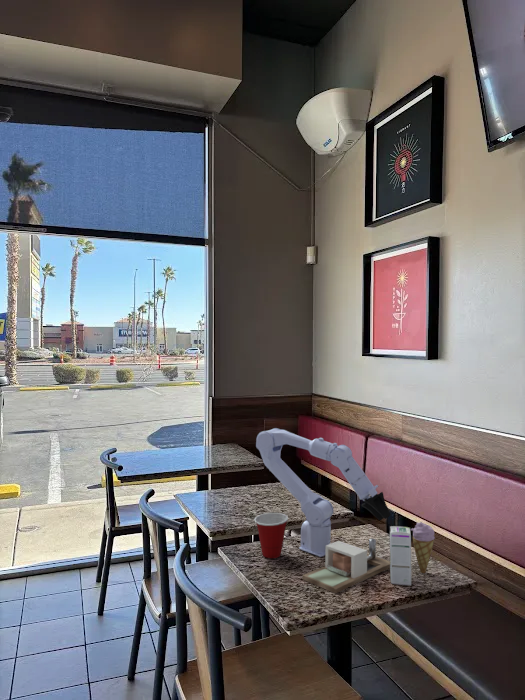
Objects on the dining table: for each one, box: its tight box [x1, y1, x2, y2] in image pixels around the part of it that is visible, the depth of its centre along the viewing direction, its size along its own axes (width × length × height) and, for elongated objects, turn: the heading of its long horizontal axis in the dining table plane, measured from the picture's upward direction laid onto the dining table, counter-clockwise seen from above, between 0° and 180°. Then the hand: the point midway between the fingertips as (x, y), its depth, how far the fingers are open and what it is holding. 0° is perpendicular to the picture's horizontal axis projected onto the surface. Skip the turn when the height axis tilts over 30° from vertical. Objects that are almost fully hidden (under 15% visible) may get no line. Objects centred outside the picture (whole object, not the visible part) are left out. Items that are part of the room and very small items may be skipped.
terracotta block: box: [333, 552, 351, 571], centre depth 154 cm, size 4×4×4 cm
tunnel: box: [324, 540, 368, 578], centre depth 155 cm, size 10×6×6 cm, turn 43°
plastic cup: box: [253, 512, 289, 559], centre depth 169 cm, size 11×11×12 cm
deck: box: [301, 553, 390, 594], centre depth 156 cm, size 12×27×1 cm, turn 133°
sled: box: [327, 537, 377, 576], centre depth 159 cm, size 7×18×5 cm, turn 133°
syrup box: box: [389, 525, 412, 586], centre depth 151 cm, size 6×6×14 cm
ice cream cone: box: [410, 521, 436, 574], centre depth 157 cm, size 7×6×15 cm
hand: (385, 518), depth 163 cm, fingers open, 7 cm apart
